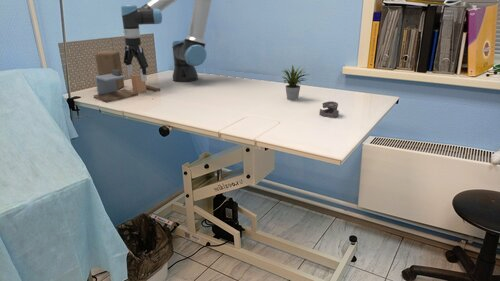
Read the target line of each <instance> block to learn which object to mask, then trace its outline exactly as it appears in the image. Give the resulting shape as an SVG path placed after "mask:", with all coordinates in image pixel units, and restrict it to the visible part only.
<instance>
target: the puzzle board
mask: <svg viewBox="0 0 500 281" xmlns="http://www.w3.org/2000/svg"><path fill="white" fill-rule="evenodd" d="M147 90H148V91H151V92H153V93H154V92H155V93H156V92H160V91H161V89H160V88H159V87H157V86H152V85H148V84H146V91H147ZM138 96H139V93H136V92H133V90H128V89H126V88H121V89H119V90H118V91H115V92H111V93H106V94H101V95H98V93H97V94H94V95H93V98H94V99H97V100H99V101H102V102H105V103H111V102H114V101H120V100H124V99H128V98H129V99H130V98H132V97H133V98H134V97H138Z"/></svg>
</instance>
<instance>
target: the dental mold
mask: <svg viewBox="0 0 500 281" xmlns="http://www.w3.org/2000/svg"><path fill="white" fill-rule="evenodd" d="M338 106H339V103H338V102H336V101H330V100H329V101H326V102H323V103H322V108H323V109H322V108H319V116H321V117H322V118H324V117H325V118H330V119H338V118H339V115H340V114H339V110H338Z"/></svg>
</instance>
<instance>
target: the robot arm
mask: <svg viewBox="0 0 500 281" xmlns="http://www.w3.org/2000/svg"><path fill="white" fill-rule="evenodd" d="M176 1H177V0H149V1H147V2H146V3H145V4H144V5H141V7H138V6H137V5H136V4H123V5H122V6H120V9H121V10H120V12H121V20H122V26H123V35H124V43H125V46H124V56H123V63H124V64H125V65H126V70H127V78H130V79H131V75H133V74H134V72H133V71H134V70H133V64H132V61H133V58H135V59H136V60H137V63H138V64H139V66H140V67H139V70H140V74H141V81H145V82H146V81H147V80H148V77H147V68H148V67H149V64H148V61H147V59H146V56H145V53H144V48H143V47H140V46H141V44H142V43H141V42H142V41H141V34H140V33H141V32H140V25H159V24H162V22H163V13H162V12H163V11H164V10H165V9H166V8H168V7H170V6H171V5H172V4H174V3H175V2H176ZM211 4H212V0H194V3H193V7H192V8H193V9H192V14H191V17H190V18H191V19H190V25H189V29H188V34H187V36H186V37H184V39H180V40H174V41H172V46H171V48H172V54H173V55H172V56H173V65H174V68H173V73H172V81H174V82H178V83H179V82H180V83H182V82H184V83H185V82H186V83H187V82H193V81H196V80H199V74H198V72H197V70H196V67H198V66H201V65H203V63H205V61H206V59H207V51H206V49H205V47H206V42H205V39H204V38H205V34H206V30H207V24H208V18H209V13H210V8H211Z"/></svg>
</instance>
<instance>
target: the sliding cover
mask: <svg viewBox="0 0 500 281" xmlns="http://www.w3.org/2000/svg"><path fill="white" fill-rule="evenodd" d="M94 78H95V79H94V80H95V85H96V90H97V94H98V95H101V94H106V93H111V92H115V91H118V90H117V84H116V80H117V79H122V78H123V79H126V76H125V75H123V76H122V75H121V73H120V71H119V70H115V69H113V70H112V74H106V75H100V76H99V75H96V76H94Z"/></svg>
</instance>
